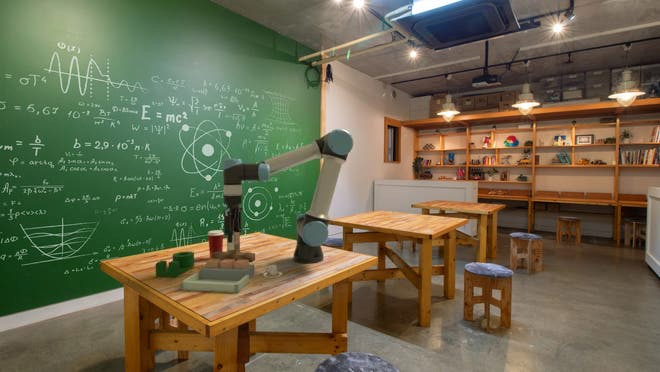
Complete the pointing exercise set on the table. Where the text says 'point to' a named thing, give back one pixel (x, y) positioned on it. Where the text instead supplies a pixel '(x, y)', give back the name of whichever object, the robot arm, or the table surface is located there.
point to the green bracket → (175, 265)
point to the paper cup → (215, 241)
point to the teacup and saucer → (272, 271)
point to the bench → (225, 273)
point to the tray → (213, 284)
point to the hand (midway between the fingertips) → (233, 248)
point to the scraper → (234, 251)
